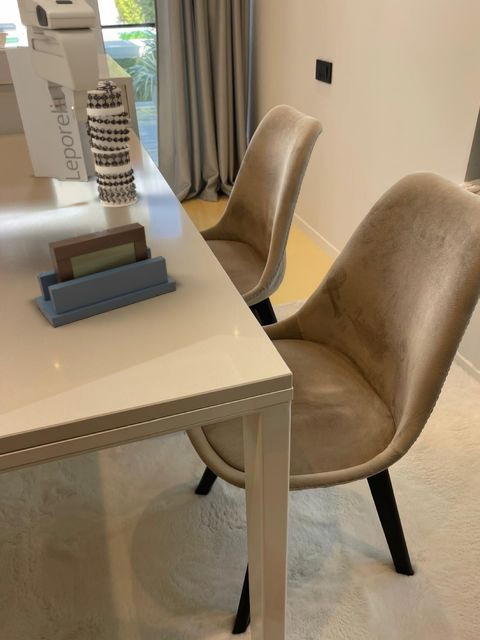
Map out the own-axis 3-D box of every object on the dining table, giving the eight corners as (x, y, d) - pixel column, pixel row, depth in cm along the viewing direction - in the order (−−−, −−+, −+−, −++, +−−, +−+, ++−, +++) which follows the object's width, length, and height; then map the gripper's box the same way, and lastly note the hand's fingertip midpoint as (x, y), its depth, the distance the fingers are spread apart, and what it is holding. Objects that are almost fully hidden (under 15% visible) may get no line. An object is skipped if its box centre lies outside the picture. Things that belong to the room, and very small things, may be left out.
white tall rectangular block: (35, 180, 144) (4, 48, 128) (45, 174, 149) (16, 46, 132) (87, 181, 142) (63, 48, 126) (96, 175, 147) (73, 46, 131)
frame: (151, 280, 90) (144, 226, 85) (66, 304, 83) (53, 248, 78) (144, 274, 92) (137, 222, 87) (60, 298, 85) (47, 243, 80)
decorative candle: (130, 209, 124) (112, 85, 110) (91, 206, 126) (69, 85, 112) (145, 196, 132) (130, 79, 118) (108, 194, 133) (90, 78, 120)
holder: (176, 289, 90) (173, 258, 87) (53, 327, 81) (45, 293, 78) (154, 273, 96) (150, 242, 93) (36, 306, 86) (28, 274, 83)
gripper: (9, 9, 85) (30, 107, 92) (52, 13, 71) (72, 129, 78) (51, 8, 88) (67, 103, 95) (100, 12, 74) (114, 123, 81)
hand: (70, 115), depth 87 cm, fingers open, 8 cm apart
